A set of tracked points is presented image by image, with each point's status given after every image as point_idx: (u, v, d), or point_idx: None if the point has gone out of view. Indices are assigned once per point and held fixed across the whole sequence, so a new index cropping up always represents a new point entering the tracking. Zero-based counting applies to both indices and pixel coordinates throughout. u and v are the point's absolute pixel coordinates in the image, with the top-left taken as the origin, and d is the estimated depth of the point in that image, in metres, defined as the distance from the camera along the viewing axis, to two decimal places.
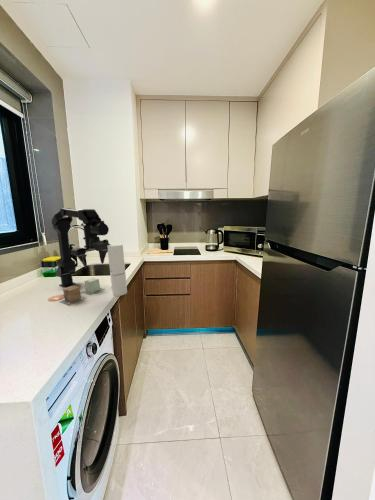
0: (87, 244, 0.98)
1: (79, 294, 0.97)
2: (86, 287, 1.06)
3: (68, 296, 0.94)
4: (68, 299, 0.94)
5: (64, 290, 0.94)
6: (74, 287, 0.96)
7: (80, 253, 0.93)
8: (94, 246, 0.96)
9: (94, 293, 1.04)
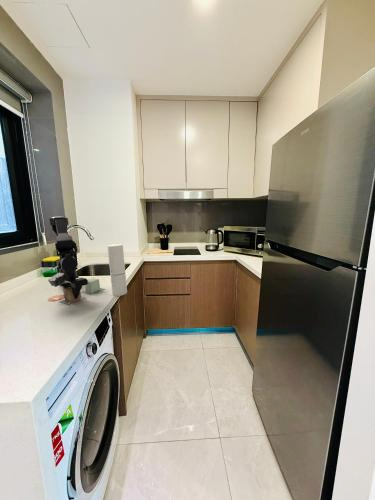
0: None
1: (79, 294, 0.97)
2: (86, 287, 1.06)
3: (68, 296, 0.94)
4: (68, 299, 0.94)
5: (64, 290, 0.94)
6: None
7: None
8: None
9: (94, 293, 1.04)
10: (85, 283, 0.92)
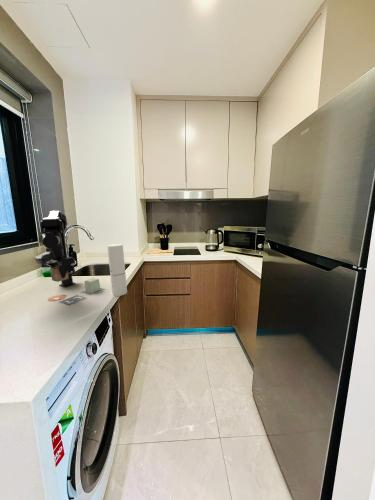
0: None
1: (66, 274, 0.97)
2: (86, 287, 1.06)
3: (55, 275, 0.94)
4: (55, 278, 0.94)
5: (51, 269, 0.95)
6: None
7: None
8: None
9: (94, 293, 1.04)
10: (72, 262, 0.92)
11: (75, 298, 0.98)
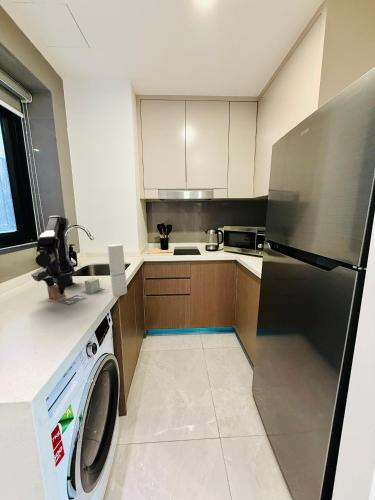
0: None
1: None
2: (86, 287, 1.06)
3: (51, 294, 0.97)
4: (52, 296, 0.97)
5: (48, 288, 0.98)
6: None
7: None
8: None
9: (94, 293, 1.04)
10: (67, 278, 0.95)
11: (75, 298, 0.98)
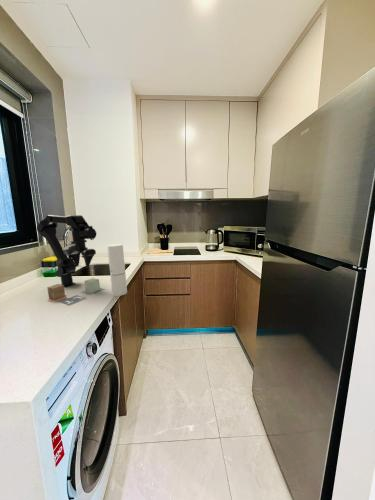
0: None
1: (63, 292, 1.00)
2: (86, 287, 1.06)
3: (51, 294, 0.97)
4: (52, 296, 0.97)
5: (48, 288, 0.98)
6: (58, 285, 0.99)
7: None
8: None
9: (94, 293, 1.04)
10: (93, 253, 1.08)
11: (75, 298, 0.98)
